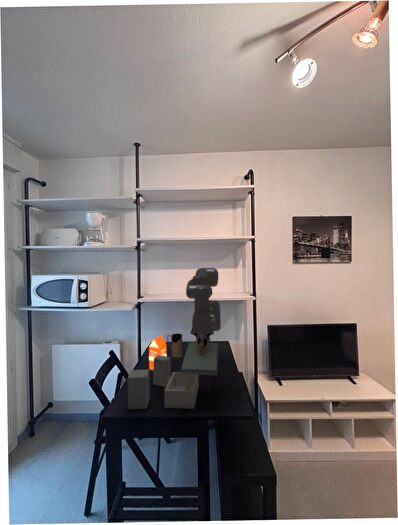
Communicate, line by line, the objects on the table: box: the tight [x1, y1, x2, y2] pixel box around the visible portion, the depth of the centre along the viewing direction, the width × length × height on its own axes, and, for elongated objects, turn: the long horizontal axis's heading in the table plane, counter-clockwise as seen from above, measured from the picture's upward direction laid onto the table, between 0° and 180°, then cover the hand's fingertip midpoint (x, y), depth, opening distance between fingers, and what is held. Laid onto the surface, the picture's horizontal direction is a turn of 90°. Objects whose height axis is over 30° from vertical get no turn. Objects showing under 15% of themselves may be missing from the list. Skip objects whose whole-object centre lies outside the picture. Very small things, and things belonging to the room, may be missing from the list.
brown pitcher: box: [166, 333, 184, 358], centre depth 187 cm, size 9×14×15 cm, turn 53°
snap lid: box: [180, 340, 220, 376], centre depth 125 cm, size 22×16×7 cm
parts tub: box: [164, 371, 200, 410], centre depth 128 cm, size 20×14×8 cm
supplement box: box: [127, 369, 151, 410], centre depth 122 cm, size 9×9×15 cm
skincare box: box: [152, 355, 172, 388], centre depth 142 cm, size 8×6×15 cm
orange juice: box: [148, 335, 168, 371], centre depth 164 cm, size 8×9×20 cm
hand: (202, 345), depth 130 cm, fingers closed on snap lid
